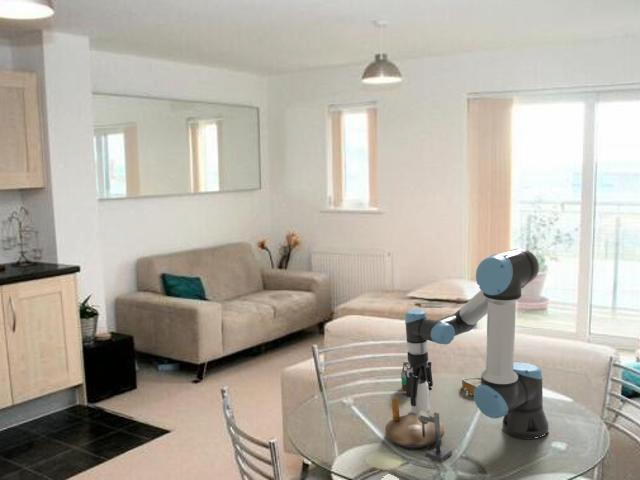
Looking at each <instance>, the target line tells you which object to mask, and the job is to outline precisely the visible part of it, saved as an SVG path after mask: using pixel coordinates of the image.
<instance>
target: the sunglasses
mask: <svg viewBox="0 0 640 480" xmlns="http://www.w3.org/2000/svg"><path fill="white" fill-rule="evenodd" d="M469 380H473V381H474V380H480V381H481V377H466V378H464V377H462V378H461V387H462V390H463V392H465V391H466V392H467V394H468V393H471V394H474V390H475V388H477V386H478V385H476V384H473V383H471V382H469Z"/></svg>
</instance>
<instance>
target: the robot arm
mask: <svg viewBox="0 0 640 480" xmlns="http://www.w3.org/2000/svg"><path fill="white" fill-rule="evenodd" d="M539 266H540V264H539V261H538V258H537V257H536V256H535V255H534V253H533V252H531V251H529V250H528V249H524V248H514V249H510V250H508V251H504V252H500V253H495V254H492V255H490V256H488V257H485V258H484V259H482V260H481V261H480V263H479V264H478V265H477V268H476V271H475V272H476V273H475V280H476V284H477V285H478V286H479V289H480V290H479V291H478V292H477V293H476V294H475V295H474V296H472V297H471V298H470V299H469V300H467V302H466V303H465V304H464V305H462V306H461V307H460V308H459V309H458V310H457V311H456V312H455V313H453V314H451V315H448V316H445V317H443V318H439V319H436V320H435V319H430V318H427V313H426V311H425V310H424V309H423V310H422V309H409V310H408V311H406V313H405V319H404V320H405V323H404V324H405V337H406V347H407V348H406V349H407V361H408V362H409V363H410V370H409V371H408V372H407V371H406V372H405V375H406V395H405V396H406V397H407V398H409V401H410V407H411V413H412V414H414V415H418V413H419V408H418V397H416V395H417V387H418V381H419V380H420V378H421V379H424V380H425V379H426V380H427V383H428V390H429V391H432V390H433V386H434V382H433V373H432V361H429V347H428V342H433V343H435V344H439V345H445V346H446V345H449V344H451V343H452V341H453V340H454V339H455V337H457V336H459V335H462V334H464V333H468V332H470V331H471V330H473V329H475V327H476V326H477V323H478V322H479V321H480V320H482V319H483V318H484V317H485V316H487V318H486V320H487V321H486V354H485V355H486V356H485V357H486V360H485V362H486V363H485V364H486V365H485V369H484V370H482V371H481V374H480V378H481V380H480V384H479V385H476V386H477V388H475V390H474V396H473V401H474V403H475V405H476V407H477V408H478V410H479V411H480V412H481V413H482V414H483V415H485V416H486V417H487V418H490V419H499V418H502V417H503V419H502V430H503V431H504V433H505V434H507V435H508V436H511V437H513V438H516V439H520V438H524V439H523V440H528V439H527V438H535V437H540V436H542V435H544V434H546V433H547V432H548V430H549V431H550V429H549V422H548V419H547V416H546V413H545V410H544V408H543V407H544V406H543V404H544V403H543V401H544V400H543V399H544V398H543V395H544V394H543V379H544V378H543V374H542V371H543V370H542V369H541V368H540V367H539V366H537V365H535V364H532V363H528V362H517V361H516V362H515V337H516V310H517V309H516V308H517V305H516V304H517V301H519V300H520V299H521V298H522V289H523V288H525V287H527V285H529V283H531V282H533V281H534V280H535V279H536V277H537V276H538V273H539V270H540V269H539V268H540V267H539ZM414 376H416V377H414ZM430 394H431V393H429V397H430ZM430 406H431V403H430V399H429V408H431V407H430ZM548 433H549V432H548ZM525 438H526V439H525Z"/></svg>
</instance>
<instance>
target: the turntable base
mask: <svg viewBox="0 0 640 480" xmlns="http://www.w3.org/2000/svg"><path fill="white" fill-rule="evenodd" d="M391 442H392V444H393V445H395V446H396V447H398V448H401V449H404V450H409V451H410V450H411V451H421V450H427V449H431V448H432V447H434V446H435V445H436V442H434V443H431V444H428V445H422V446H407V445H401V444H398V443H395V442H393V441H391Z"/></svg>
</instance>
